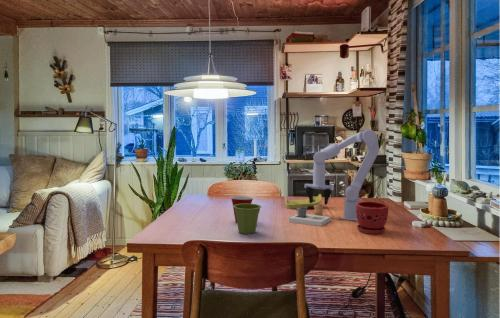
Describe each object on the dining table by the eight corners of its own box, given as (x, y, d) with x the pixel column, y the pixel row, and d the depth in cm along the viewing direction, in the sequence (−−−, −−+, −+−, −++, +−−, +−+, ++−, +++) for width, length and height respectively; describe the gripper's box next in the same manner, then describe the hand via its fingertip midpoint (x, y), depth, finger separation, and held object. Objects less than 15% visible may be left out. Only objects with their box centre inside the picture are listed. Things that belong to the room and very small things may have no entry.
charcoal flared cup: (308, 220, 202) (308, 207, 202) (304, 222, 198) (304, 209, 198) (299, 219, 205) (299, 206, 204) (295, 221, 201) (295, 208, 200)
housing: (330, 221, 201) (330, 216, 200) (321, 226, 190) (321, 221, 190) (299, 217, 209) (299, 213, 209) (288, 222, 199) (288, 217, 198)
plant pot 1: (237, 236, 173) (237, 209, 172) (230, 229, 184) (230, 204, 183) (264, 234, 176) (265, 207, 175) (256, 227, 187) (256, 202, 186)
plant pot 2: (349, 231, 181) (350, 203, 180) (365, 226, 190) (366, 200, 189) (377, 237, 172) (378, 208, 171) (393, 231, 181) (394, 204, 180)
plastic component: (285, 205, 228) (285, 194, 237) (286, 216, 232) (285, 205, 241) (322, 202, 227) (320, 192, 236) (323, 213, 231) (320, 202, 239)
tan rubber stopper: (324, 216, 210) (325, 204, 209) (321, 218, 206) (321, 206, 205) (315, 215, 212) (315, 203, 212) (312, 217, 208) (312, 205, 208)
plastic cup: (257, 220, 201) (257, 195, 200) (245, 225, 191) (245, 199, 191) (238, 218, 206) (238, 193, 205) (225, 222, 197) (225, 197, 196)
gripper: (302, 175, 208) (301, 203, 209) (330, 178, 200) (329, 206, 201) (307, 174, 214) (307, 201, 215) (335, 176, 206) (334, 204, 207)
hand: (318, 203), depth 208 cm, fingers open, 7 cm apart
